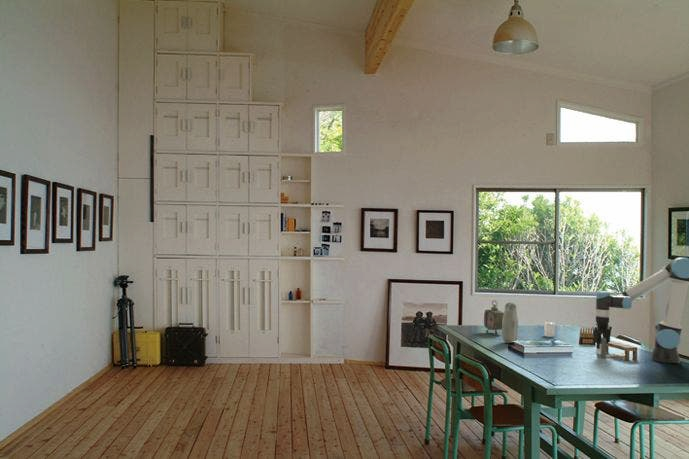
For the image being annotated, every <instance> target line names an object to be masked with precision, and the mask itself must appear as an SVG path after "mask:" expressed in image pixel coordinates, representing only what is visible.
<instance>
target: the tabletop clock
mask: <svg viewBox="0 0 689 459" xmlns="http://www.w3.org/2000/svg"><path fill="white" fill-rule="evenodd" d="M494 302H495V303H496V304H493V303H494ZM491 304H492V306H491V308H490V309H485V310H484V314H483V325H484V326H483V327H485V328H486V329H487V330H485V332H486V333H488V332H489V330H490V331H494V333H493V335H494V336H496V335H498V333H499V332H498V331H500V330H501V331H502V318H503V315H504V312H503V311H502V310H499V309H498V301H496V300H492V301H491Z"/></svg>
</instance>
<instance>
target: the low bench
mask: <svg viewBox="0 0 689 459" xmlns="http://www.w3.org/2000/svg"><path fill="white" fill-rule="evenodd" d="M609 347H610V348H614V349H618V350H622V351H624V354H625V357H624V361H625V362H630V352H632V361H634V360H635V361H634V362H636V360H637V361H638V347H637V346H634V345H629V344H626V343H625V344H624V343H622V342H618V341H614V340H610V342H608V344H607V348H606V353H609V349H610V348H609ZM595 353H597V349H596V352H595Z"/></svg>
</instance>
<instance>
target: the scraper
mask: <svg viewBox="0 0 689 459" xmlns="http://www.w3.org/2000/svg"><path fill="white" fill-rule="evenodd" d="M600 344H601V354H597V353H596V357H598V358H601V359H604V358H618V357H619V358H625V355H623V354H622V353H619V352H618V353H616V352H615V353H612V354H607V352H606V338H603V336H601V343H600Z"/></svg>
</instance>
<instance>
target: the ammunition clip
mask: <svg viewBox="0 0 689 459" xmlns="http://www.w3.org/2000/svg"><path fill="white" fill-rule="evenodd" d="M578 345H586V346H587V345H589V346H592V345H593V346H596V343H595V342H594V336H593V328H592V327H588V328H587V326H586V327H582V326H581V327H580V329H579V338H578Z"/></svg>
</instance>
